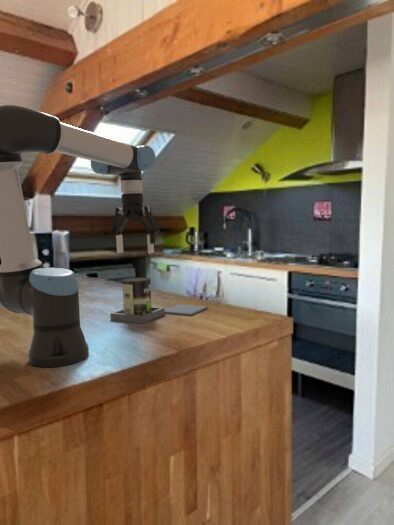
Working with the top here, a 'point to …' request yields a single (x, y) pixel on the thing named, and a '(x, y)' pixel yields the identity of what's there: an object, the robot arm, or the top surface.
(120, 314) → the collar
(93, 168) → the robot arm
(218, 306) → the top surface
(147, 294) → the coffee can
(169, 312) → the slate mat
